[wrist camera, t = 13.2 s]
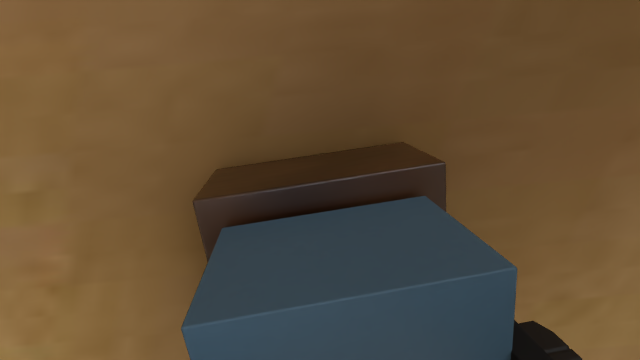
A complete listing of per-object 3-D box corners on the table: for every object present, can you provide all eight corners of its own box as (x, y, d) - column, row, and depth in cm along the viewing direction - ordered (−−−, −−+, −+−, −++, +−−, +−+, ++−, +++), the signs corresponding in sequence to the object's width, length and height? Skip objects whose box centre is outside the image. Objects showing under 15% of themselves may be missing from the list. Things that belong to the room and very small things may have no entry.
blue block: (425, 195, 12) (518, 267, 7) (430, 354, 14) (504, 489, 10) (221, 227, 12) (179, 328, 7) (259, 388, 14) (247, 549, 9)
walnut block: (404, 141, 17) (446, 161, 12) (411, 298, 19) (448, 359, 15) (215, 169, 16) (190, 200, 12) (251, 327, 19) (242, 400, 14)
